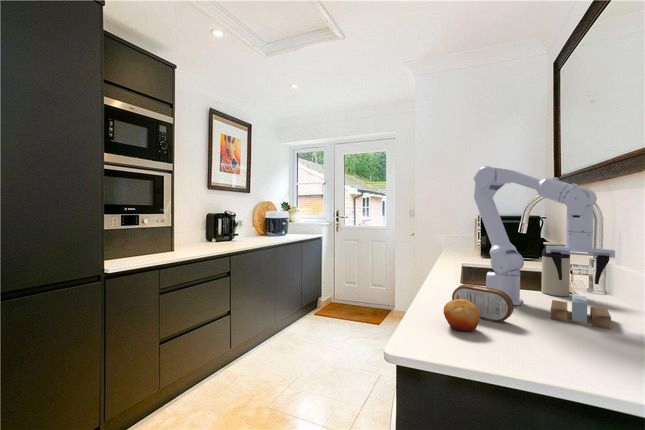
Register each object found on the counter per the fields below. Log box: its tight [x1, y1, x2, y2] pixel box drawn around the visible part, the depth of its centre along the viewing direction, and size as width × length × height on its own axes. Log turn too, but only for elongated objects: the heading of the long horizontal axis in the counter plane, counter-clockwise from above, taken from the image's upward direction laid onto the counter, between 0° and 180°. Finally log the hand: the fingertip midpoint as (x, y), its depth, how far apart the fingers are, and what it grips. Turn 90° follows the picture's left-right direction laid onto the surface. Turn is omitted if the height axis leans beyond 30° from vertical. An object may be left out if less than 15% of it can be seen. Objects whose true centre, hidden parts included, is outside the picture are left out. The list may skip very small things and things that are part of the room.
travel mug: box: [540, 241, 571, 297], centre depth 112 cm, size 8×8×18 cm
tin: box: [451, 283, 515, 323], centre depth 86 cm, size 15×3×8 cm, turn 47°
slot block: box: [550, 299, 612, 330], centre depth 85 cm, size 12×10×3 cm
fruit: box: [443, 299, 481, 332], centre depth 78 cm, size 8×8×8 cm
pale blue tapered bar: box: [571, 294, 588, 323], centre depth 85 cm, size 3×9×5 cm, turn 142°
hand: (578, 281), depth 87 cm, fingers open, 7 cm apart
